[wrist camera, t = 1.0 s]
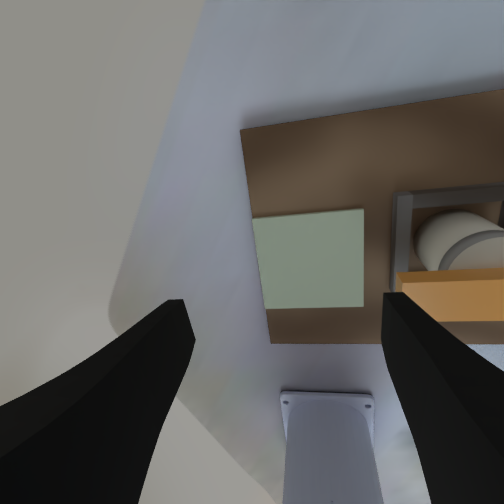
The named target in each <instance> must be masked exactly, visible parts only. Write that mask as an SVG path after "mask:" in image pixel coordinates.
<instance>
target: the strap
mask: <svg viewBox="0 0 504 504" xmlns="http://www.w3.org/2000/svg"><path fill="white" fill-rule="evenodd" d="M395 292H404V293H405V294H406V295H407V296H408V297H410V298H411V299H412V300H413V301H414V302H415V303H416V304H417V305H419V306H420V307H421V308H422V309H423V310H424V311H425V312H427V313H428V314H429V315H430V316H431V317H432V318H433V319H435V320H436V321H437V322H448V321H504V268H485V269H462V270H440V271H417V272H396V287H395Z"/></svg>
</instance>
